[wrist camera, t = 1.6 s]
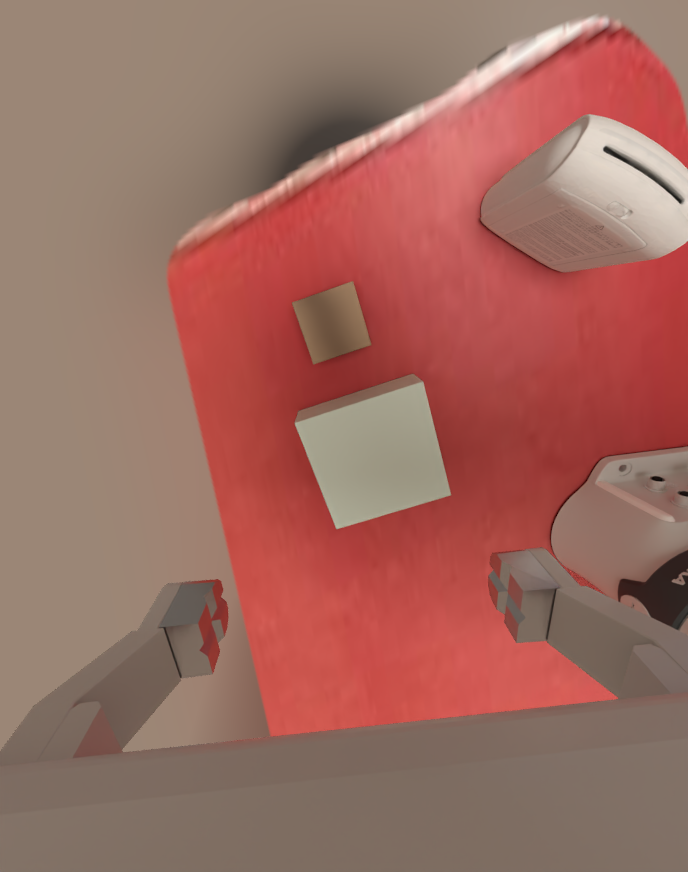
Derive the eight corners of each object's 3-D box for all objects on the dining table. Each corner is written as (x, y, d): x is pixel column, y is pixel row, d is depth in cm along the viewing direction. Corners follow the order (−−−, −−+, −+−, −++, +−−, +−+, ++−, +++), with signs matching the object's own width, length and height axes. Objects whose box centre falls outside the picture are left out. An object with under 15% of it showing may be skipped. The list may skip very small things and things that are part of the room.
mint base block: (412, 373, 34) (423, 381, 30) (439, 476, 38) (451, 495, 34) (298, 410, 35) (294, 423, 31) (336, 508, 39) (336, 529, 35)
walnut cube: (349, 285, 31) (352, 281, 26) (365, 339, 33) (371, 344, 28) (297, 303, 32) (291, 302, 27) (316, 356, 33) (313, 364, 29)
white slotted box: (593, 232, 30) (756, 185, 19) (562, 280, 32) (697, 263, 20) (497, 169, 28) (612, 72, 17) (469, 222, 30) (557, 167, 18)
